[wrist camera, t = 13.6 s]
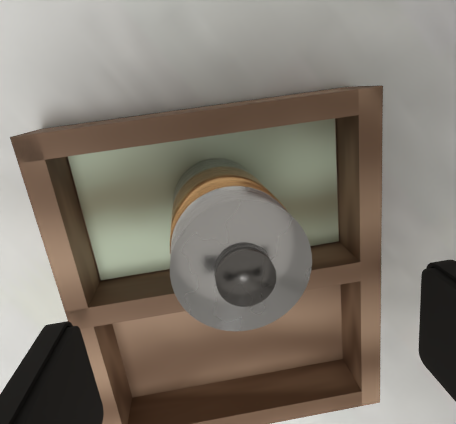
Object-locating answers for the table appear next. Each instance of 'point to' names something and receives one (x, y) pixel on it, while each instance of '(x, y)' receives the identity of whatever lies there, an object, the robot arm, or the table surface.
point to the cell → (234, 248)
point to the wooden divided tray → (160, 256)
